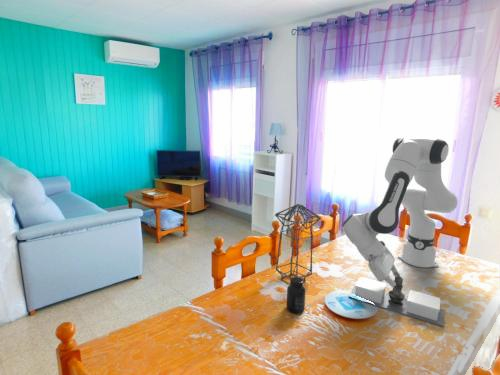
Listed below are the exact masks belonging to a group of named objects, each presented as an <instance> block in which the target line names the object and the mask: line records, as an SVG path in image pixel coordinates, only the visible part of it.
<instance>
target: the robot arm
mask: <svg viewBox="0 0 500 375" xmlns="http://www.w3.org/2000/svg"><path fill="white" fill-rule="evenodd" d="M448 154H449V144H448V143H447V141H445V140H443V139H439V138H437V139H436V138H431V137H427V136H408V135H402V136H399V137H397V138H396V139H395V141H394V142H393V145H392V154H391V157H390V158H389V161H388V163H387V165H386V168H385V171H384V178H385V181H387V182H388V187H387V189H386V192H385V193H384V196H383V199H382V202H381V203H380V205H378V206H377V207H376V208H375V209H373V210H371V211H370V210H369V211H367V212H362V213H351V214H350V215H349V216H348V217H347V218H346V219H345V220H344V221H343V222H342V225H341V228H342V231H343V232H344V234H345V236H346V237H347V239H348V240H349V242H351V244H352V245H354V246H355V247H356V249H357V251H358V253H359V254H360V255H361V256H362V257H363V259H364V260H365V261H366V262H367V263H368V264H367V266H368V268H369V270H370V271H371V273H372V274H373V276H374V277H375V279H376V281H378V282H382V283H383V281H384V282H385V283H386V284H389V286H390V287H391V288H393V287H394V286H396V282H395V281H394V280H395V279H392V278H391V276H390V274H391V272H392V275H393V276H394V278H395V277H396V276H398V275H400V272H399V271H398V269H397V268H396V265H395V262H396V259H395V257H394V255H393V253H392V252H391V251H390V250H389V249H388V247H387V246H386V243H385V242H384V241H383V240H379V239H378V238H377V236H378V235H380V234H381V235H382V234H383V235H386V234H391V233H393V232H394V231H395V230H397V227H398V225H399V223H400V222H399V221H400V218H399V213H400V207H401V205H403V207H404V208H405V209H406V211H407V212H408V215H409V218H410V223H409V224H410V225H409V232H408V234H407V241H406V242H405V243H403V244H402V245H403V246H402V250H401V251H402V252H400V253H399V254H398V255H397V258H398V259H400V260H402V261H404V263H406V264H408V265H411V266H414V267H417V268H432V267H433V268H437V267H439V262H438V260H437V259H436V257H437V256H436V254H437V250H436V248H435V247H434V245H435V233H436V223H435V221H434V219H433V218H431V217H430V216H429V215H427V214H426V212H425V211H428V212H434V213H440V214H441V213H442V214H451V213H452V212H454V211H455V210H456V208H457V206H458V198H457V196H456V195H455V193H454V192H452V191H451V190H449V189H448V188H447V186H445V184H444V182H443V180H442V179H443V178H442V163H443V162H444V161H446V160H447V157H448ZM413 178H414V181H415V183H417V185H418V186H409V185H410V183H411V181H412V180H413Z"/></svg>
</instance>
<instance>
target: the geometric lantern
mask: <svg viewBox="0 0 500 375" xmlns="http://www.w3.org/2000/svg"><path fill="white" fill-rule="evenodd" d="M295 214H296V218H295V221H294V220H291V219H292V218H293V217H294V215H295ZM299 214H300V217H301V218H303V220H300V222H298V221H299ZM311 214H312V215H311ZM287 216H288V218H287ZM305 216H306V218H305ZM274 217H276V219H277V220H278V221H279V222H280V223H281V225H282V226H281V229H280V232H279V240H278V249H277V257H276V258H277V259H276V265H275V271H277V272H278V274H279V275H280V276H281V277H280V280H281V281H282V282H284V283H285V284H287V285H290V282H287V281H286V280H284V279H287V280H290V279H291V278H292V276H294V277H299V278H302V279H303V283H305V282H306V278H307V277H310V276H311V275H312V274H313V241H314V234H313V226H314V225H315V224H317V223H318V222H319V221H321V220H322V219H323V218H322V217H321V216H320V215H319V214H316V213H315V212H314V211H312V210H311V209H309V208H308V207H306V206H304V204H300V203H296V204H295V205H292V206H291V207H288V208H286V209H283V210H281V211H278V212H276V213H275V214H274ZM315 218H316V219H315ZM308 220H309V221H308ZM288 222H289V224H288ZM285 223H286V224H285ZM296 224H299V225H301V226H300V227H299V228H296V227H295V225H296ZM308 225H309V226H308ZM291 226H292V227H293V228H291ZM284 227H287V228H288V229H286V230H284ZM302 227H303V229H302ZM308 229H309V230H310V231H309V232H308V231H305V230H308ZM292 231H294V232H292ZM296 231H298V232H297V236H296ZM285 232H290V234H291V236H289V235H288V234H285ZM302 232H304V233H306V234H309V236H306V237H300V235H301V234H302ZM283 235H284V236H286V237H288V238H290V239H292V246H291V247H292V248H291V255H290V256H291V257H290V262H289V263H286V264H282V265H280V266H279V258H280V251H281V244H282V238H283ZM308 238H310V264H309V265H310V267H309V268H307V267H305V266H303V265H301V264H300V263H299V245H300V244H299V243H300V240H304V239H308ZM296 240H297V241H296ZM295 241H296V260H295V262H293V260H294V259H293V258H294V247H295ZM288 265H290V268H289V270H287V272H282V271H281V270H279V269H278V268H282V267H286V266H288ZM293 265H295V266H294V268H293ZM299 267H301V268H303V269H305V270H307V271H308V272H307V273H306V274H302V273H300V272H298V269H299ZM292 268H293V269H292ZM288 273H289V274H288ZM298 275H301V276H298Z"/></svg>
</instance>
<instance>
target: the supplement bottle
mask: <svg viewBox="0 0 500 375" xmlns="http://www.w3.org/2000/svg"><path fill="white" fill-rule="evenodd" d="M299 277H300V276H299ZM299 277H296V276H293V277H291V279H290V278H289V279H290V281H289V284H288V286H287V288H286V310H287V311H288V312H289V313H290V314H293V315H294V314H295V315H298V314H299V315H300V314H302V313H303V312H305V310H306V308H305V307H306V291H307V290H306V287H305V285H304V282H303V281H304V280H303V279H304V278H303V277H301V278H299ZM302 278H303V279H302Z"/></svg>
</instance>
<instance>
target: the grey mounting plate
mask: <svg viewBox="0 0 500 375" xmlns="http://www.w3.org/2000/svg"><path fill="white" fill-rule="evenodd" d="M387 284H388V283H387V282H383V281H382V282H380V281H378V280H375V279H370V278H366V277H363V276H360V277H359V278H358V280H357V282H356V283H355V286H354V287H352V288H353V289H352V290H351V292H350V293H352V294H355V295H356V296H359V297H361V298H364V299H366V300H369V301H371V302H373V303H374V304H375V305H376V306H375V307H378V308H381V309H384V310H388V311H389V312H393V313H396V314H400V315H402V316H406V317H410V318H413V319H416V320H419V321H422V322H426V323H430V324H432V325H435V326H438V327H442V328H444V318H445V316H444V315H445V309H443V308H441V307H440V306H441V298H440V297H437V296H433V295H429V294H425V293H423V292H418V291H414V290H412V289H411V290H409V293H408V296H407V298H406V297H405V298H404V299H403V301H401V302H402V303H403V306H400V307H397V306H393V305H391V304H390V303H389V302H388V300H389V299H390V297H389V292H386V288H387Z"/></svg>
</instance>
